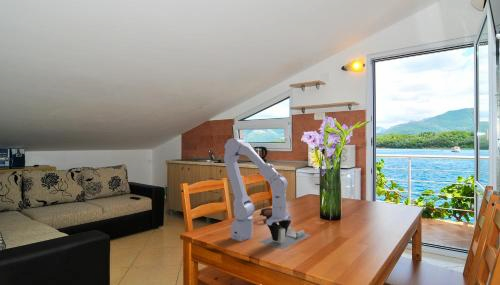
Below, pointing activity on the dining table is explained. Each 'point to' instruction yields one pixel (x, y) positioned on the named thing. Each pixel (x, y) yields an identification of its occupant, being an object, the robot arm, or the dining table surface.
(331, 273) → the dining table surface
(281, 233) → the connector
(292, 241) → the board
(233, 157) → the robot arm
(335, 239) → the dining table surface
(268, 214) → the pottery mug
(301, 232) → the end holder
